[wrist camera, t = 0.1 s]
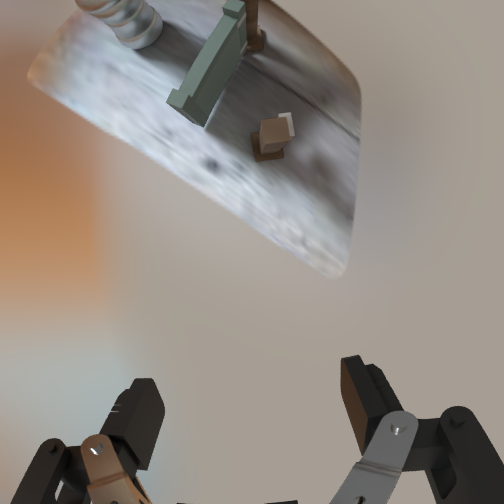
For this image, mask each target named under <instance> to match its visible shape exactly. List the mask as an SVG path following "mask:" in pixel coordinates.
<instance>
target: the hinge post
mask: <svg viewBox="0 0 504 504" xmlns="http://www.w3.org/2000/svg"><path fill="white" fill-rule="evenodd" d="M239 1H243V2H245V12H246V32H247V49H246V51H253V50H261V49H264V45H263V40H262V35H261V31H260V26H259V25H258V0H239ZM246 51H245V52H246Z"/></svg>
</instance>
